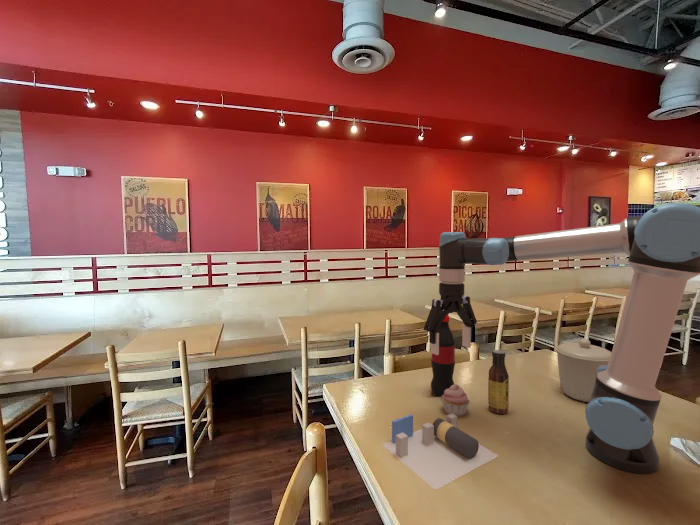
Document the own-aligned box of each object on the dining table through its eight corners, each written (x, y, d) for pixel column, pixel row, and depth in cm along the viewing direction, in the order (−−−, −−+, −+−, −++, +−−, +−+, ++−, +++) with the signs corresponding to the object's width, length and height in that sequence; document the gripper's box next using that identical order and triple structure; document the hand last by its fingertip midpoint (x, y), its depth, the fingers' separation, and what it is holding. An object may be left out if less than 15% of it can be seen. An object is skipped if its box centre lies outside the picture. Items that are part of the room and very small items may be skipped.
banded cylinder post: (478, 455, 89) (479, 436, 89) (465, 461, 86) (466, 442, 86) (443, 433, 99) (444, 416, 99) (430, 438, 96) (431, 420, 96)
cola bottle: (452, 390, 129) (453, 312, 127) (456, 400, 121) (457, 317, 119) (429, 389, 130) (430, 311, 128) (432, 399, 122) (433, 316, 120)
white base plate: (498, 458, 89) (499, 433, 88) (435, 493, 77) (435, 464, 76) (441, 423, 106) (441, 402, 105) (381, 447, 94) (381, 423, 93)
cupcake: (450, 423, 106) (450, 391, 105) (435, 408, 115) (435, 380, 114) (476, 418, 108) (476, 388, 108) (459, 405, 117) (459, 376, 117)
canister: (564, 405, 117) (566, 345, 116) (547, 383, 135) (548, 331, 133) (625, 411, 113) (628, 348, 111) (599, 388, 130) (601, 333, 129)
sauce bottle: (510, 415, 110) (512, 355, 109) (490, 414, 111) (491, 354, 110) (505, 406, 116) (506, 349, 115) (486, 404, 118) (487, 348, 116)
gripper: (470, 278, 114) (469, 341, 115) (412, 283, 102) (411, 353, 103) (489, 280, 108) (488, 346, 109) (429, 286, 95) (429, 360, 97)
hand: (451, 350), depth 106 cm, fingers open, 13 cm apart
